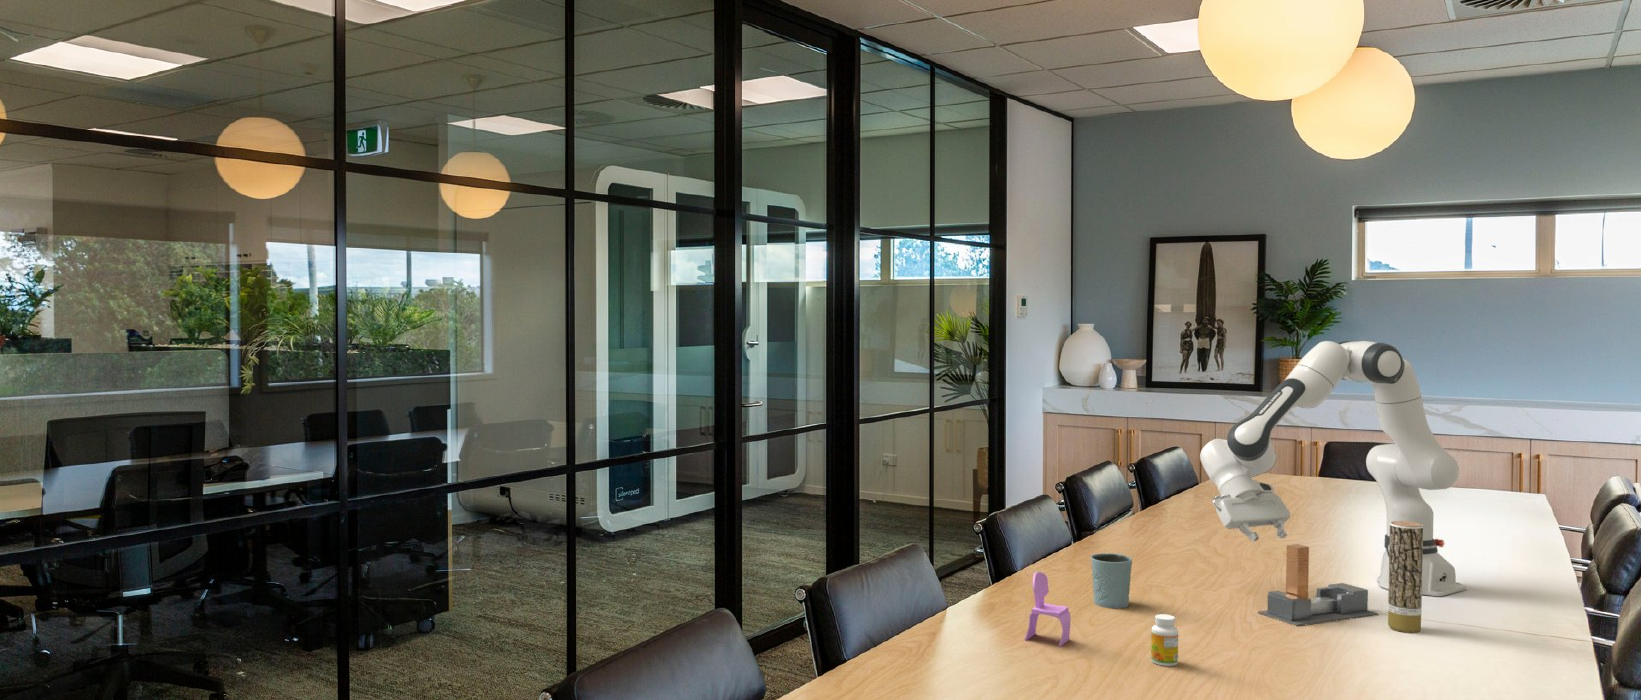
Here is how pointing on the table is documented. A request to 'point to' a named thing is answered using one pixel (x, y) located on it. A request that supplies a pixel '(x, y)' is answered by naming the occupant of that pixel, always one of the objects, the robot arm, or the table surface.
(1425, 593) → the robot arm
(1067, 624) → the toy chair
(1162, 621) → the supplement bottle
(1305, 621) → the grey rectangular plate
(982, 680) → the table surface
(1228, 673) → the table surface
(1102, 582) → the grey-green cup
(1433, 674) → the table surface
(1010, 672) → the table surface
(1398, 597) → the paper tube
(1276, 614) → the socket
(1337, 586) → the grey u-shaped block
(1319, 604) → the brown piece
